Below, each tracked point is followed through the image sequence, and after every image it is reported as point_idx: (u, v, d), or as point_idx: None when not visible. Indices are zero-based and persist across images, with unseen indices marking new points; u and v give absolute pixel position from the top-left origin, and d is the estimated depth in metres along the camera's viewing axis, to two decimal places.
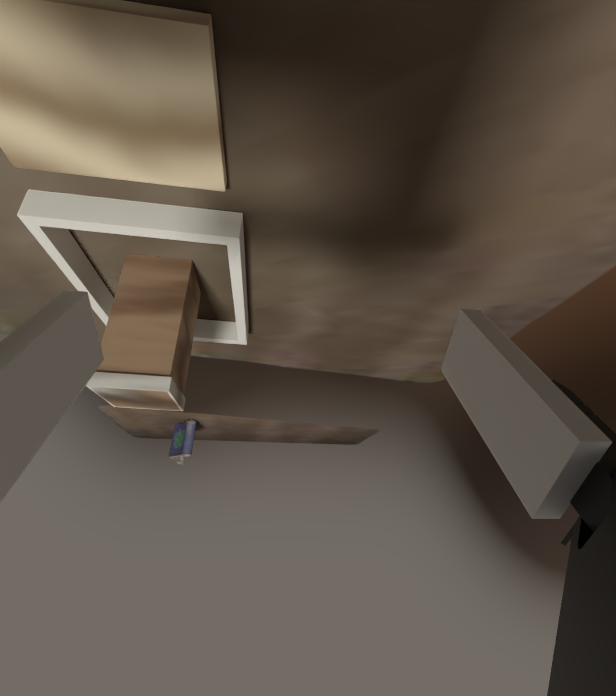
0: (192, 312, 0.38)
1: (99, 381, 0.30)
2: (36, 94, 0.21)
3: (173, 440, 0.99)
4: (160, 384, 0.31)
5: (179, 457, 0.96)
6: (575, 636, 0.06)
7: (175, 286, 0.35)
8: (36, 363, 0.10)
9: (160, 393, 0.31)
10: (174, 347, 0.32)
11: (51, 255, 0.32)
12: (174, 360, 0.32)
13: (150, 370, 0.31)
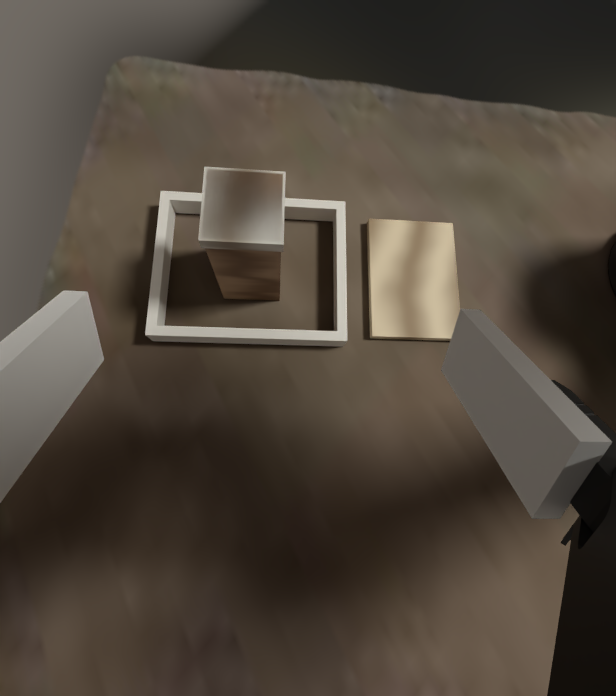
0: (242, 286, 0.38)
1: None
2: (416, 253, 0.43)
3: None
4: None
5: None
6: (575, 636, 0.06)
7: None
8: (36, 363, 0.10)
9: (271, 233, 0.29)
10: None
11: (302, 200, 0.42)
12: (274, 258, 0.32)
13: None
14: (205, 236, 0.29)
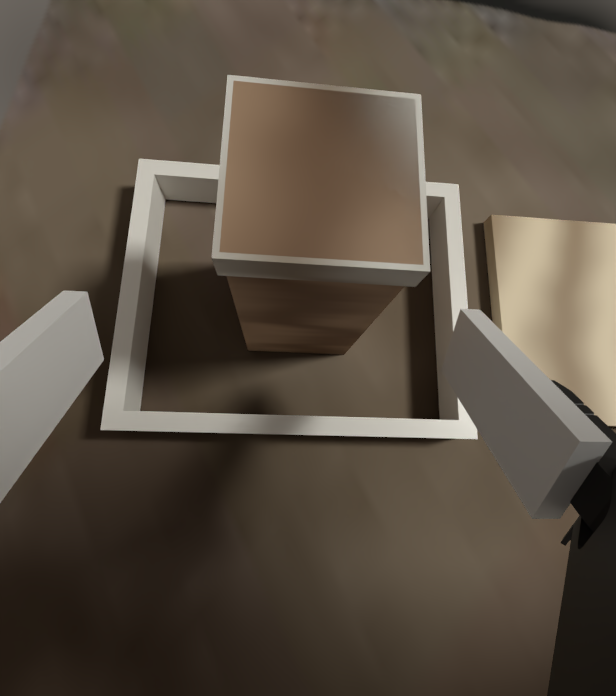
0: (287, 337, 0.20)
1: None
2: (573, 275, 0.26)
3: None
4: None
5: None
6: (575, 636, 0.06)
7: None
8: (36, 363, 0.10)
9: (399, 241, 0.11)
10: None
11: None
12: (379, 298, 0.14)
13: None
14: (230, 247, 0.11)
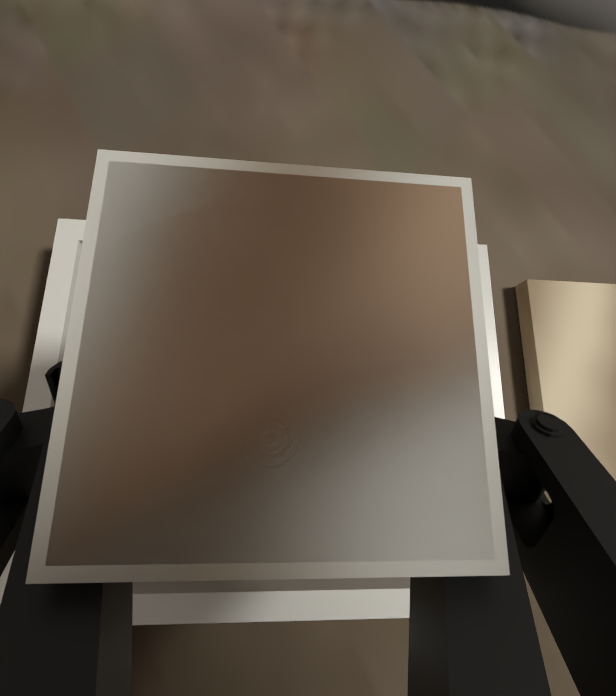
0: None
1: None
2: None
3: None
4: None
5: None
6: None
7: None
8: None
9: (441, 506, 0.05)
10: None
11: None
12: None
13: None
14: (71, 551, 0.05)
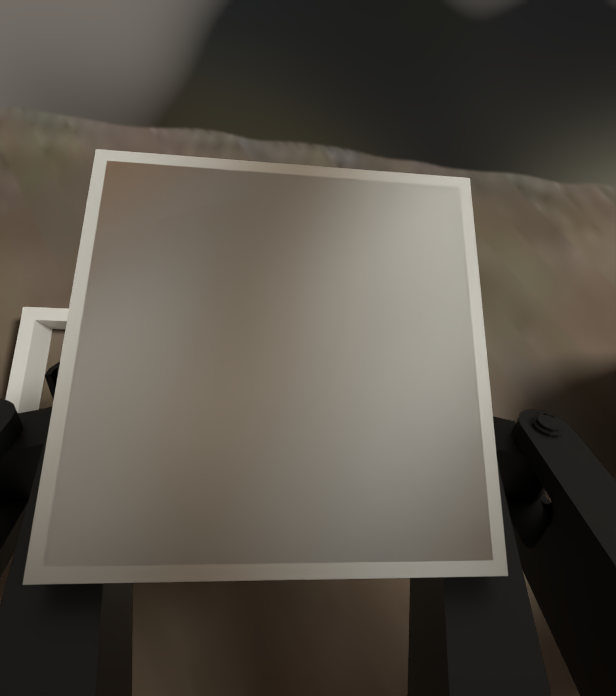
0: None
1: None
2: None
3: None
4: None
5: None
6: None
7: None
8: None
9: (440, 506, 0.05)
10: None
11: None
12: None
13: None
14: (69, 552, 0.05)
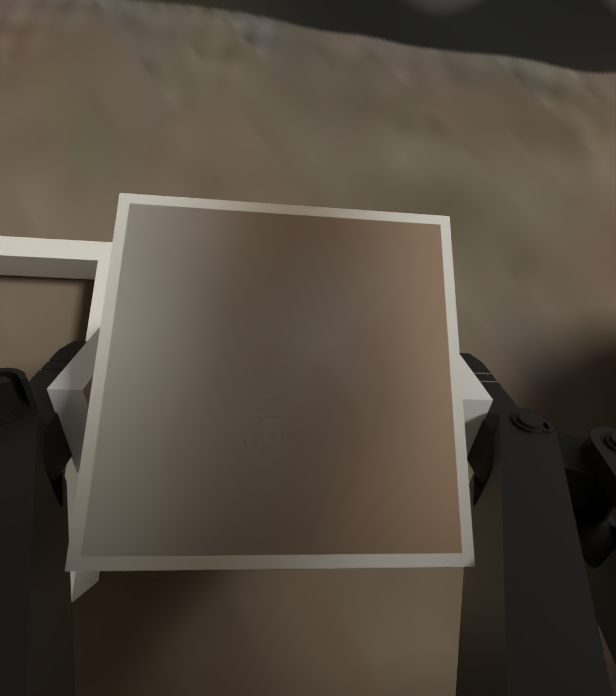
0: None
1: None
2: None
3: None
4: None
5: None
6: (475, 590, 0.07)
7: None
8: None
9: (417, 507, 0.06)
10: None
11: (19, 239, 0.19)
12: None
13: None
14: (103, 545, 0.06)
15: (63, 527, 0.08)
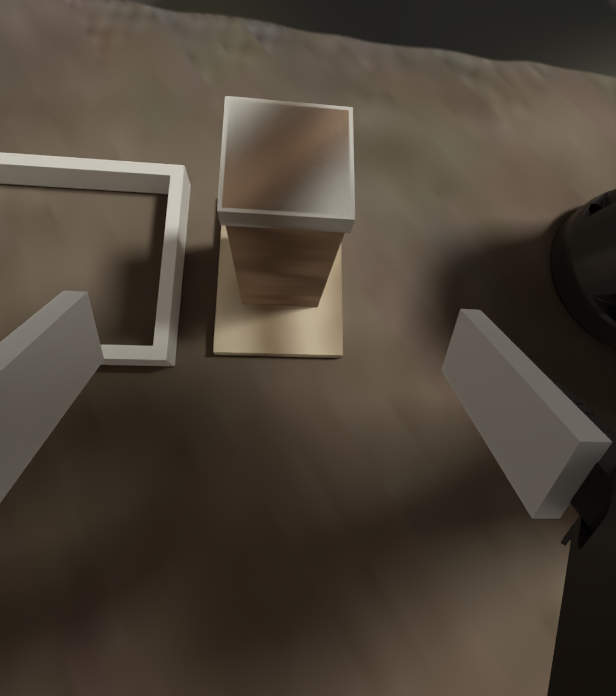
0: (271, 287, 0.27)
1: None
2: None
3: None
4: None
5: None
6: (575, 636, 0.06)
7: None
8: (36, 363, 0.10)
9: (335, 201, 0.18)
10: (336, 252, 0.22)
11: (122, 162, 0.30)
12: (330, 245, 0.21)
13: None
14: (228, 204, 0.17)
15: None
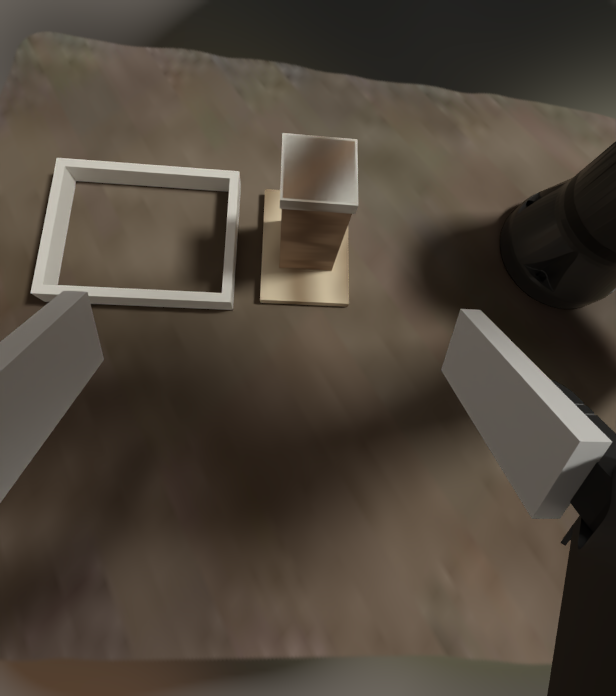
0: (301, 254, 0.40)
1: None
2: None
3: None
4: None
5: None
6: (575, 636, 0.06)
7: None
8: (36, 363, 0.10)
9: (347, 195, 0.31)
10: (346, 227, 0.35)
11: (196, 169, 0.43)
12: (343, 222, 0.34)
13: None
14: (286, 196, 0.31)
15: None
